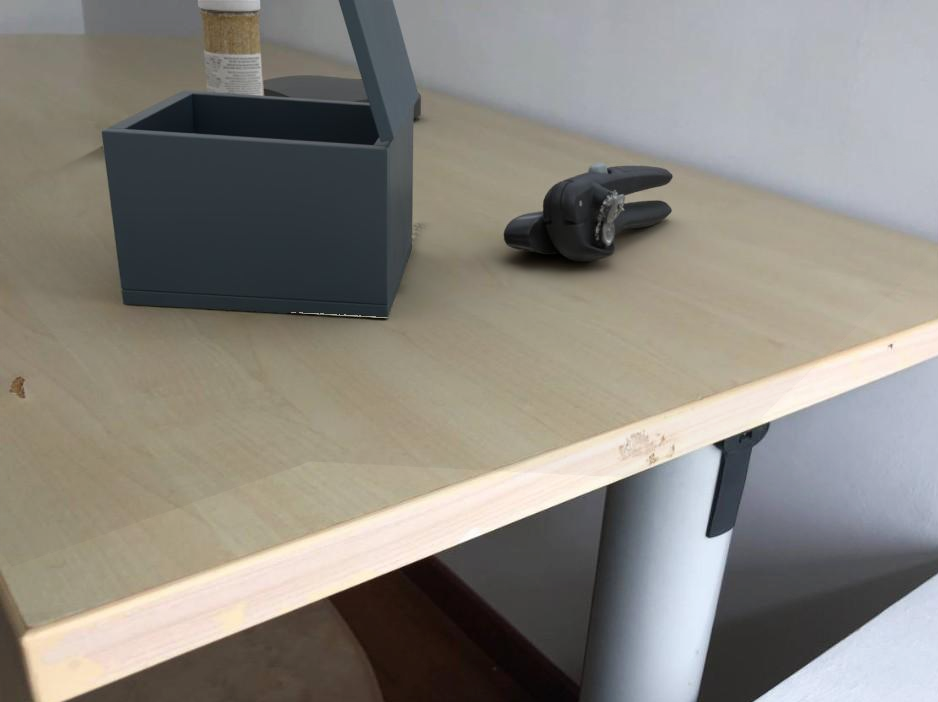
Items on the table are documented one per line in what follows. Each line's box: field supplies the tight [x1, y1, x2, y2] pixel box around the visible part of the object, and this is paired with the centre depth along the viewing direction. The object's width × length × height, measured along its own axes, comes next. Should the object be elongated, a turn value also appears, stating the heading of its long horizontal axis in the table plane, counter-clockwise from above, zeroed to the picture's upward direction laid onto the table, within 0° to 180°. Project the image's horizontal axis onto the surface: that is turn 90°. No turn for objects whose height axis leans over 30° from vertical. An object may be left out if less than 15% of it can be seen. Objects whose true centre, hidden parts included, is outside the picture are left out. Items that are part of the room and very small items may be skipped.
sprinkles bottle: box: [197, 0, 264, 96], centre depth 78 cm, size 5×5×14 cm
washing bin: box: [101, 89, 415, 318], centre depth 55 cm, size 14×13×9 cm
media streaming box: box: [263, 74, 422, 119], centre depth 101 cm, size 15×15×3 cm
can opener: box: [503, 162, 674, 263], centre depth 66 cm, size 18×7×6 cm, turn 147°
